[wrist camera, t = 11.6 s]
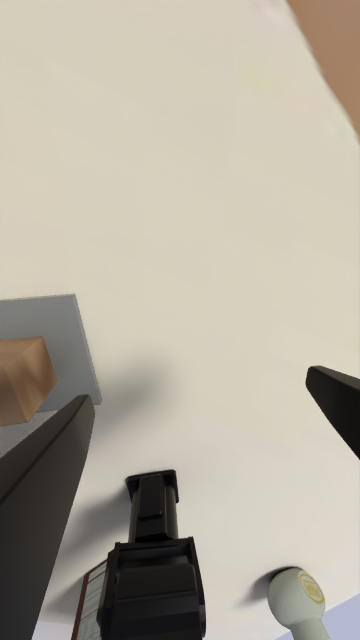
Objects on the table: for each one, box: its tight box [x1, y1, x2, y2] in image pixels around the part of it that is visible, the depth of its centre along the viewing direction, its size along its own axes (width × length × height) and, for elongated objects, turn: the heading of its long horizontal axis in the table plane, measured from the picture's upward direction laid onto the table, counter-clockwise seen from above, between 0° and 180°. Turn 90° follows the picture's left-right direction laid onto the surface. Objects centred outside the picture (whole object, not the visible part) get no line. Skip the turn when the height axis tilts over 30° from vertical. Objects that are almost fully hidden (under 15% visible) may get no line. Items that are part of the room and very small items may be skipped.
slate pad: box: [0, 294, 102, 413], centre depth 19 cm, size 12×12×1 cm
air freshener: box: [267, 568, 330, 640], centre depth 38 cm, size 11×8×10 cm
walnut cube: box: [0, 336, 58, 426], centre depth 17 cm, size 5×5×5 cm
